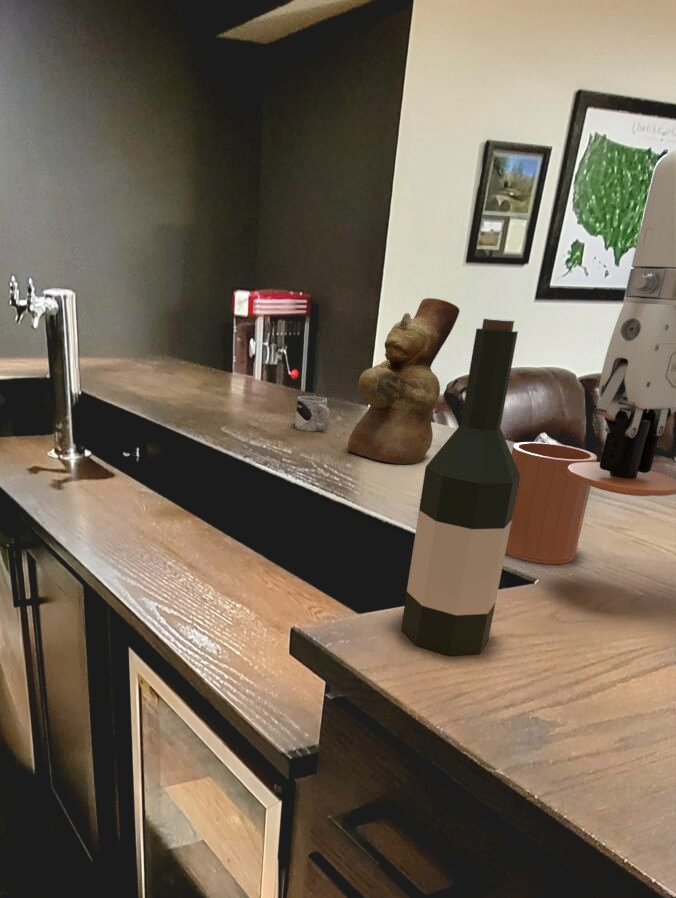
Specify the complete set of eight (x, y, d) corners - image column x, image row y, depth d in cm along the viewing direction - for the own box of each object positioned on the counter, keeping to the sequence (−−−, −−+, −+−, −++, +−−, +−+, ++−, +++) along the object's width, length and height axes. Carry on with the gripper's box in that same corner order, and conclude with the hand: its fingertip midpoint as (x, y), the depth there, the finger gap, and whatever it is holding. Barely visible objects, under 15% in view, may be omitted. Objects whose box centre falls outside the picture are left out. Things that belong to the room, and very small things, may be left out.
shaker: (554, 539, 100) (575, 444, 96) (587, 566, 91) (612, 463, 87) (484, 534, 100) (502, 439, 96) (510, 562, 91) (530, 458, 86)
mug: (289, 425, 165) (291, 396, 163) (313, 424, 168) (316, 395, 166) (314, 434, 157) (317, 404, 155) (339, 433, 160) (342, 403, 158)
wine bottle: (437, 609, 76) (487, 316, 67) (506, 643, 70) (571, 324, 60) (383, 627, 72) (427, 314, 62) (451, 665, 65) (512, 323, 56)
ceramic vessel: (331, 449, 144) (348, 293, 135) (402, 440, 157) (423, 296, 147) (392, 468, 132) (415, 298, 123) (464, 457, 145) (490, 302, 136)
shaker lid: (643, 475, 82) (659, 413, 80) (701, 504, 72) (721, 434, 70) (549, 469, 82) (562, 406, 80) (593, 497, 72) (610, 426, 70)
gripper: (658, 288, 64) (609, 487, 70) (753, 295, 71) (702, 474, 77) (582, 284, 70) (543, 467, 76) (678, 291, 78) (636, 457, 84)
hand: (624, 469), depth 77 cm, fingers closed on shaker lid, 2 cm apart
